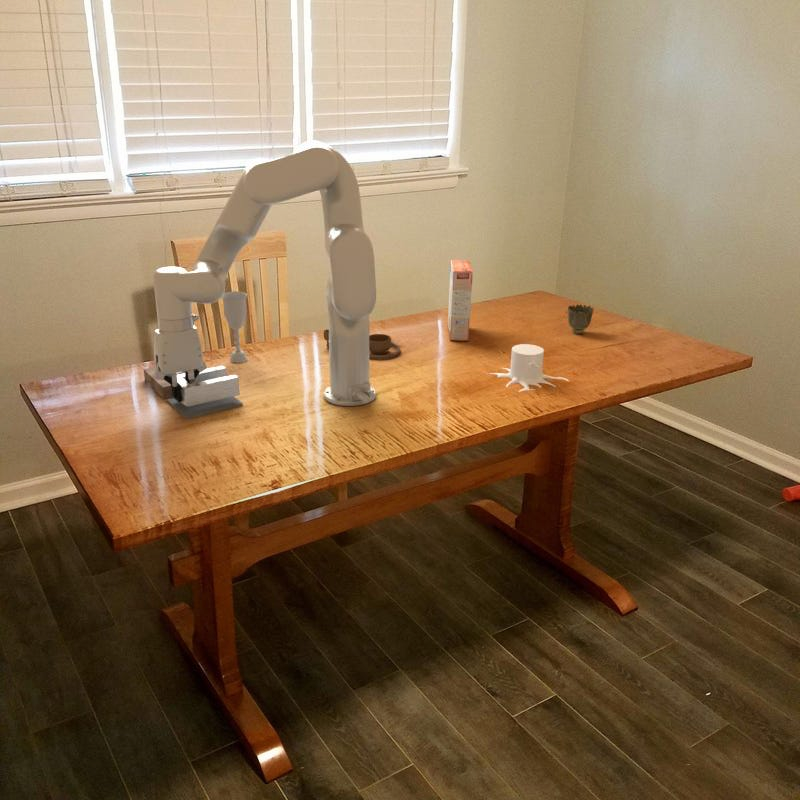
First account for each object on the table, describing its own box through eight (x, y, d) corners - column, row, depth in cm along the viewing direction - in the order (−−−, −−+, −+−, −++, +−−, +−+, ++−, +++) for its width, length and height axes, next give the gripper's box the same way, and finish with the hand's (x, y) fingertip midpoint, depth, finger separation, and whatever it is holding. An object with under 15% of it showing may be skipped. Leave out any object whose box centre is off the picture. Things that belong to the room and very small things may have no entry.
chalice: (245, 365, 212) (241, 299, 205) (221, 363, 213) (216, 298, 206) (255, 356, 218) (251, 292, 211) (232, 354, 220) (227, 290, 212)
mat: (242, 405, 188) (242, 403, 187) (185, 419, 180) (185, 416, 180) (222, 389, 197) (222, 386, 196) (167, 401, 189) (166, 399, 189)
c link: (224, 382, 195) (222, 365, 193) (239, 394, 188) (238, 377, 186) (172, 393, 188) (170, 376, 186) (186, 406, 181) (184, 388, 179)
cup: (565, 328, 244) (567, 303, 241) (589, 329, 243) (592, 304, 240) (566, 336, 237) (568, 310, 234) (591, 337, 236) (594, 311, 233)
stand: (215, 387, 198) (213, 362, 195) (164, 398, 191) (161, 373, 188) (194, 370, 208) (191, 346, 205) (144, 380, 201) (141, 356, 199)
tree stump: (502, 396, 196) (504, 365, 193) (479, 368, 213) (480, 339, 210) (578, 390, 200) (581, 360, 197) (549, 363, 217) (552, 335, 214)
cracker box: (469, 341, 232) (473, 271, 223) (449, 341, 232) (452, 270, 223) (466, 326, 245) (470, 259, 236) (447, 326, 245) (449, 259, 236)
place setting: (374, 368, 213) (374, 347, 211) (320, 351, 224) (319, 331, 222) (414, 351, 225) (414, 331, 223) (360, 336, 237) (360, 317, 234)
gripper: (203, 313, 184) (209, 386, 192) (134, 324, 176) (144, 401, 183) (215, 321, 179) (222, 397, 186) (146, 333, 170) (155, 412, 178)
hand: (183, 398), depth 185 cm, fingers closed on c link, 2 cm apart
